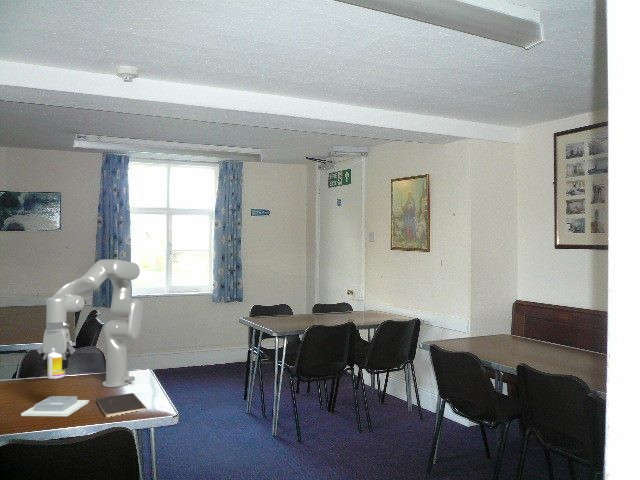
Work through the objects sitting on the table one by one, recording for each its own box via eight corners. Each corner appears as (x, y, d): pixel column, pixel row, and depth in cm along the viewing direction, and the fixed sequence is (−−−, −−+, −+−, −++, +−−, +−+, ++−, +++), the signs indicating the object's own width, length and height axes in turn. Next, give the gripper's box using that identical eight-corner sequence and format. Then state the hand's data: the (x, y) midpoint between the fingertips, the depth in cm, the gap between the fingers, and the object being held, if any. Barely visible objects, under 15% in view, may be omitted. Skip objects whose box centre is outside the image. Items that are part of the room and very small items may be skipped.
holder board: (88, 402, 224) (88, 394, 224) (67, 416, 206) (67, 407, 206) (46, 401, 225) (46, 394, 225) (21, 415, 207) (21, 407, 207)
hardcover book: (105, 419, 204) (105, 413, 204) (96, 403, 224) (96, 398, 224) (146, 412, 213) (146, 406, 213) (134, 397, 232) (134, 392, 232)
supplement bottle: (68, 375, 217) (68, 345, 217) (56, 379, 211) (56, 348, 211) (56, 374, 219) (56, 344, 220) (43, 378, 213) (43, 347, 213)
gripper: (81, 324, 219) (81, 366, 219) (41, 324, 219) (41, 366, 219) (72, 327, 211) (71, 371, 211) (30, 327, 212) (30, 370, 212)
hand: (56, 368), depth 215 cm, fingers closed on supplement bottle, 6 cm apart
